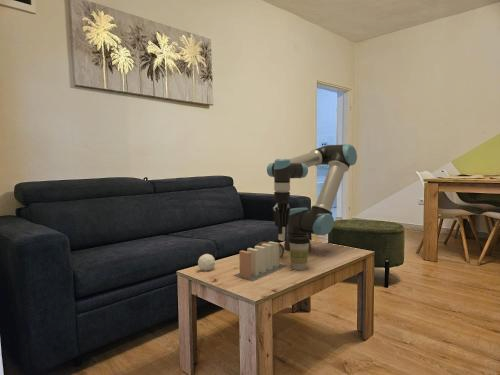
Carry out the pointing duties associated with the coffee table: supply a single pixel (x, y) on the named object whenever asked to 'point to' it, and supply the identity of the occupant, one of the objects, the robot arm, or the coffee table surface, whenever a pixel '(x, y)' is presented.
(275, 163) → the robot arm
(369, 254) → the coffee table surface
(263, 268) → the domino
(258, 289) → the coffee table surface
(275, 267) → the mat
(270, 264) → the domino
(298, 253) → the coffee cup
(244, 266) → the domino
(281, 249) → the tin
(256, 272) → the domino
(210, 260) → the geometric ball
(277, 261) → the domino
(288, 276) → the coffee table surface
